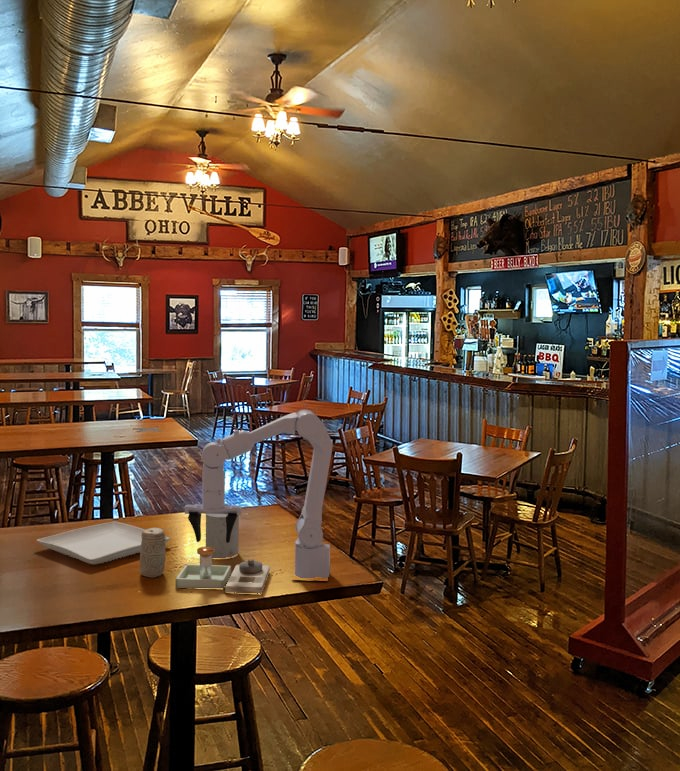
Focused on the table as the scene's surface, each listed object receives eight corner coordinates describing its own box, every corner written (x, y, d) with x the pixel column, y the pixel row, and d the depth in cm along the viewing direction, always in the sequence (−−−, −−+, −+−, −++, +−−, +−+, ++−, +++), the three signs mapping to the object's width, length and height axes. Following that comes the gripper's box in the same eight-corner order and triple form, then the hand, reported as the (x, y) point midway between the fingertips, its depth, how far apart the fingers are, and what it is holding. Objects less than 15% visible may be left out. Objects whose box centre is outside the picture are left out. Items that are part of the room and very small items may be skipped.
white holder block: (269, 572, 197) (269, 555, 197) (261, 595, 181) (261, 576, 181) (236, 571, 197) (236, 554, 197) (225, 594, 181) (225, 575, 181)
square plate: (91, 572, 195) (91, 558, 195) (35, 551, 212) (34, 538, 212) (171, 548, 217) (171, 535, 217) (114, 530, 233) (114, 518, 233)
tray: (230, 574, 195) (231, 565, 195) (223, 590, 184) (223, 580, 184) (186, 573, 195) (186, 564, 195) (175, 588, 184) (175, 578, 184)
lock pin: (215, 576, 192) (215, 546, 191) (212, 582, 187) (212, 552, 186) (198, 576, 192) (199, 546, 191) (195, 582, 187) (195, 551, 187)
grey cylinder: (206, 561, 206) (207, 517, 205) (203, 550, 215) (204, 509, 214) (241, 558, 208) (241, 516, 207) (236, 548, 217) (236, 507, 216)
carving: (150, 581, 189) (150, 535, 188) (134, 574, 194) (133, 529, 193) (171, 575, 194) (171, 530, 193) (154, 568, 199) (154, 524, 198)
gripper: (181, 492, 185) (181, 545, 186) (239, 493, 185) (238, 546, 186) (188, 486, 192) (188, 536, 193) (243, 487, 192) (243, 538, 193)
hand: (213, 541), depth 190 cm, fingers open, 7 cm apart
